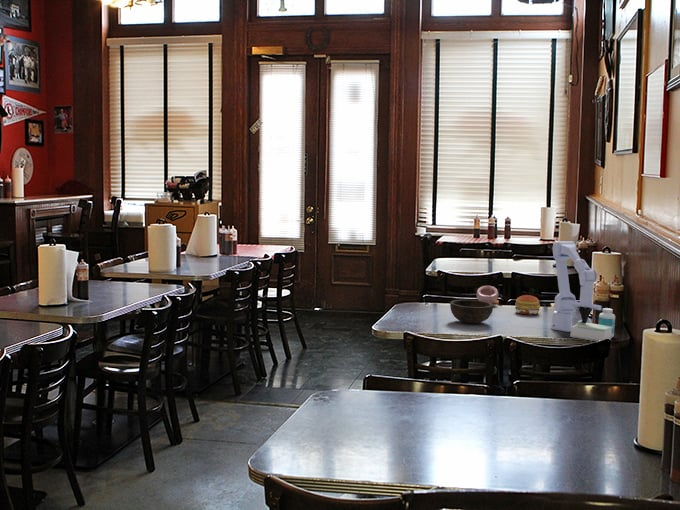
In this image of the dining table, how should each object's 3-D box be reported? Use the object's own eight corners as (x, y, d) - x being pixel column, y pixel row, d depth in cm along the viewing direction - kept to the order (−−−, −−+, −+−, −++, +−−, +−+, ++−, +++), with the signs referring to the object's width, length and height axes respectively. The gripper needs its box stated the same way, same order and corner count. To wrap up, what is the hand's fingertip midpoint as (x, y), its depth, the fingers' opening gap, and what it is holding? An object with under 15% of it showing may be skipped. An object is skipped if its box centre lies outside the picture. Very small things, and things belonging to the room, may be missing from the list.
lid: (576, 326, 398) (576, 321, 398) (583, 323, 406) (583, 318, 405) (605, 331, 390) (605, 326, 390) (612, 328, 397) (612, 323, 397)
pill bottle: (614, 338, 402) (616, 310, 400) (598, 337, 403) (600, 309, 402) (612, 335, 409) (614, 308, 407) (596, 334, 411) (598, 307, 409)
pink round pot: (475, 305, 477) (476, 285, 475) (476, 302, 488) (477, 282, 487) (497, 307, 474) (498, 287, 473) (497, 303, 486) (498, 284, 484)
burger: (529, 310, 468) (530, 292, 467) (545, 315, 456) (546, 296, 455) (509, 311, 462) (510, 293, 461) (525, 316, 450) (526, 298, 449)
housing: (570, 337, 400) (571, 326, 400) (578, 334, 408) (578, 323, 407) (603, 343, 391) (604, 331, 390) (610, 339, 399) (611, 328, 398)
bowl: (446, 317, 439) (447, 299, 438) (488, 319, 439) (489, 300, 438) (452, 326, 417) (453, 306, 416) (496, 328, 418) (497, 308, 416)
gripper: (568, 293, 400) (566, 321, 402) (598, 297, 391) (596, 326, 393) (574, 292, 406) (572, 319, 407) (603, 296, 397) (601, 324, 399)
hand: (584, 323), depth 401 cm, fingers closed
